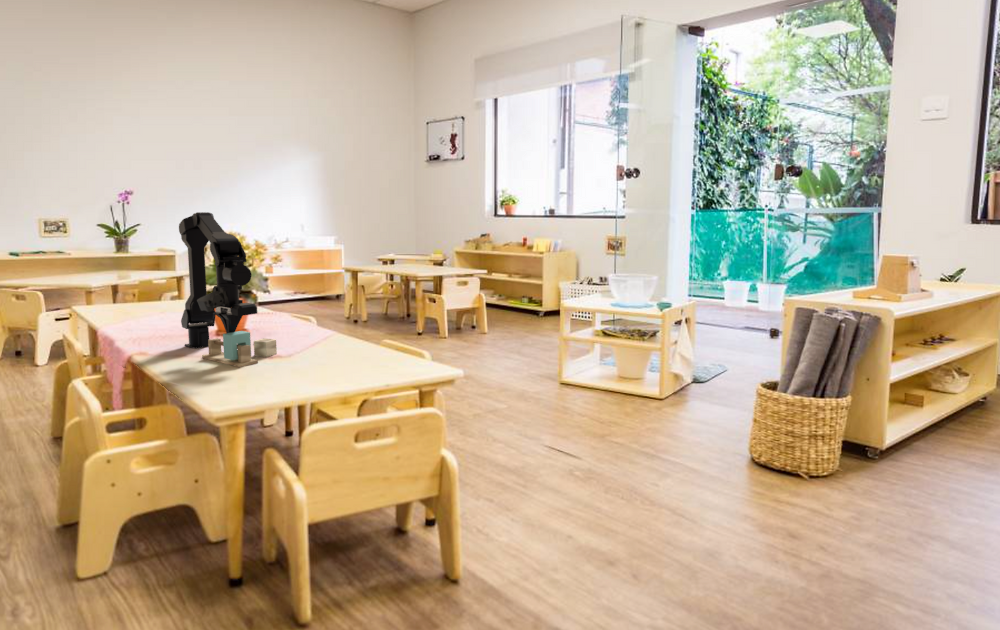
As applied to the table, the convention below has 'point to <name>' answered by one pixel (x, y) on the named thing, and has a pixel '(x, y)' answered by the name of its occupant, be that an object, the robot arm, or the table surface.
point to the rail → (218, 356)
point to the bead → (235, 343)
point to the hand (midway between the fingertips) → (230, 336)
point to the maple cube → (265, 347)
